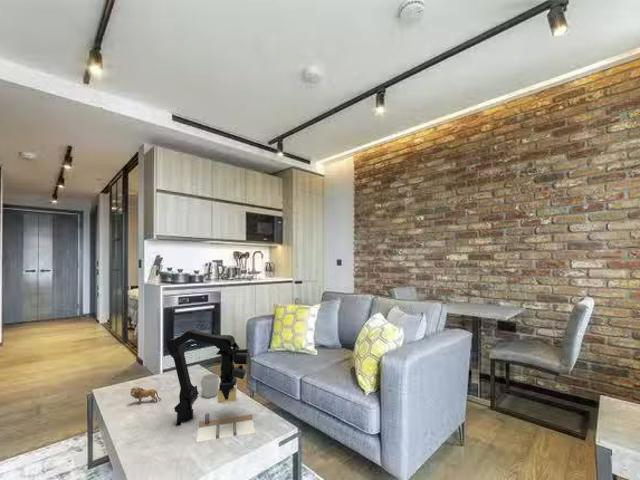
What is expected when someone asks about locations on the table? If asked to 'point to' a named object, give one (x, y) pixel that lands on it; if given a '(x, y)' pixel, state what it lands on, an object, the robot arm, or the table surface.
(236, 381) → the jar
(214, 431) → the door board
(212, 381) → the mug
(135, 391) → the lion figurine
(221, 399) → the bar
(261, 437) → the table surface
